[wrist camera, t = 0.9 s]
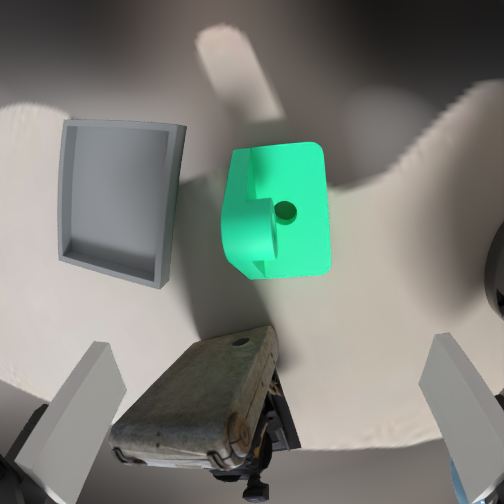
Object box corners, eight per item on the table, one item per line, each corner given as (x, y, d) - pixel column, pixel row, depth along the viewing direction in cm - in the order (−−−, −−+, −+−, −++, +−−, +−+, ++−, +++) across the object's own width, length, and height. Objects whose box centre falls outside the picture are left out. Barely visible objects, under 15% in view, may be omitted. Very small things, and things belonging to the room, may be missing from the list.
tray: (186, 126, 28) (177, 124, 26) (168, 280, 34) (160, 289, 31) (77, 120, 29) (63, 119, 27) (70, 253, 35) (58, 260, 32)
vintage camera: (237, 436, 36) (188, 553, 17) (194, 336, 36) (95, 437, 16) (308, 426, 34) (294, 558, 15) (273, 317, 33) (223, 438, 14)
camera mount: (329, 264, 31) (341, 314, 21) (253, 269, 32) (234, 320, 22) (319, 141, 27) (332, 136, 18) (238, 150, 29) (209, 149, 19)
